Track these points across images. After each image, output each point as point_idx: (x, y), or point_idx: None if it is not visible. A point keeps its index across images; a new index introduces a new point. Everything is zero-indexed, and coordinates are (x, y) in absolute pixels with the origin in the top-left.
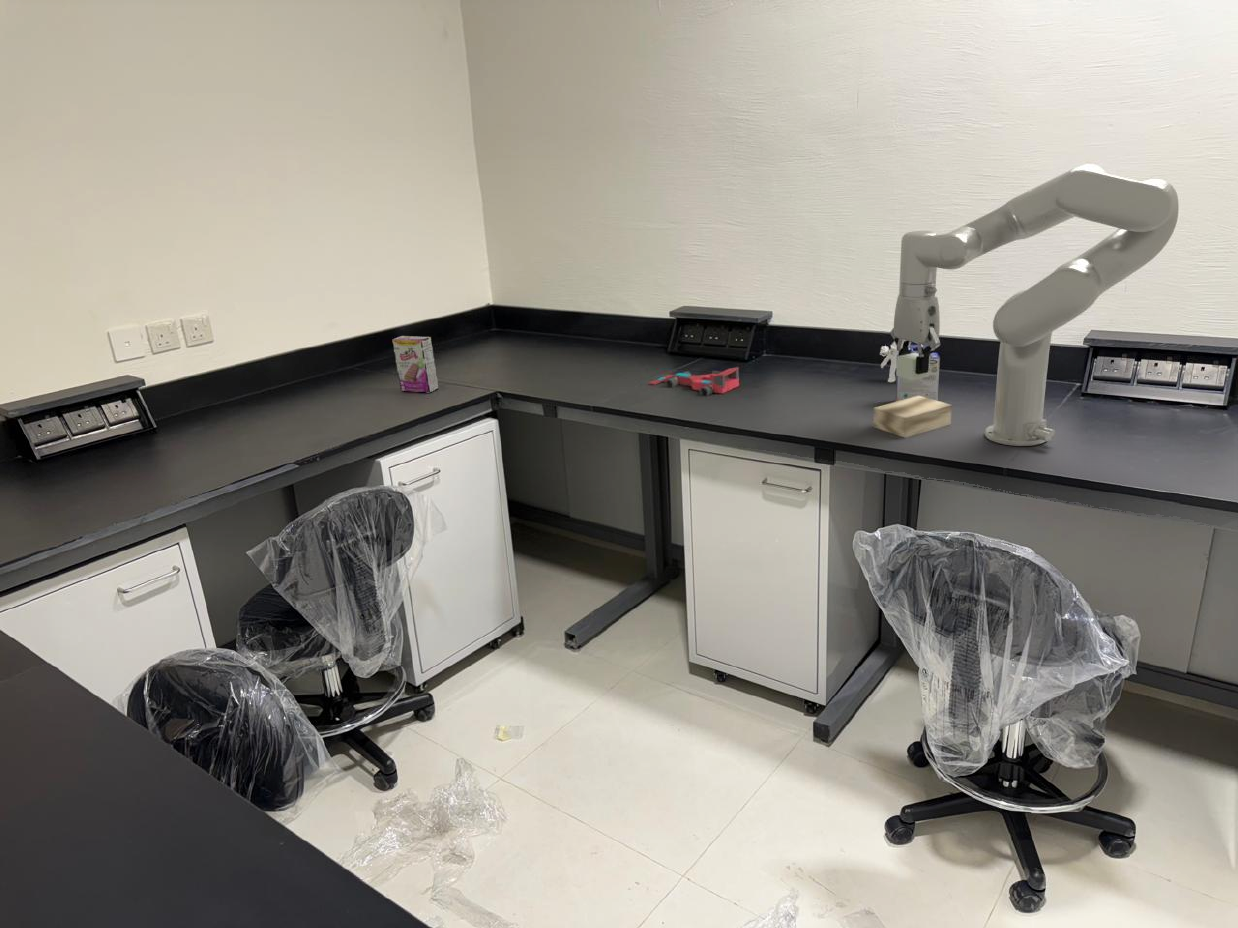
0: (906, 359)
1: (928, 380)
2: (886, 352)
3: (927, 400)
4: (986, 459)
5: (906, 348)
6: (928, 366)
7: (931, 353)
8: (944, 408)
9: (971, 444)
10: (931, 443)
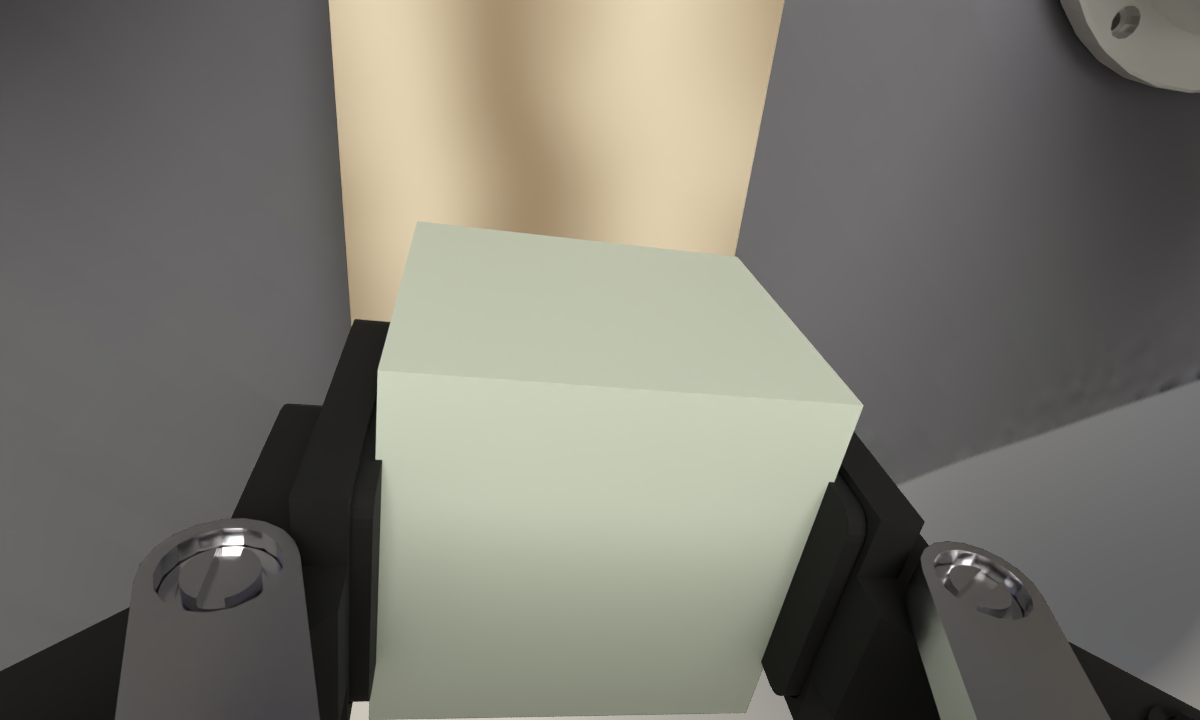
0: (605, 707)
1: None
2: None
3: None
4: (1165, 331)
5: (335, 657)
6: None
7: (1028, 590)
8: (768, 48)
9: (1029, 206)
10: (832, 349)
